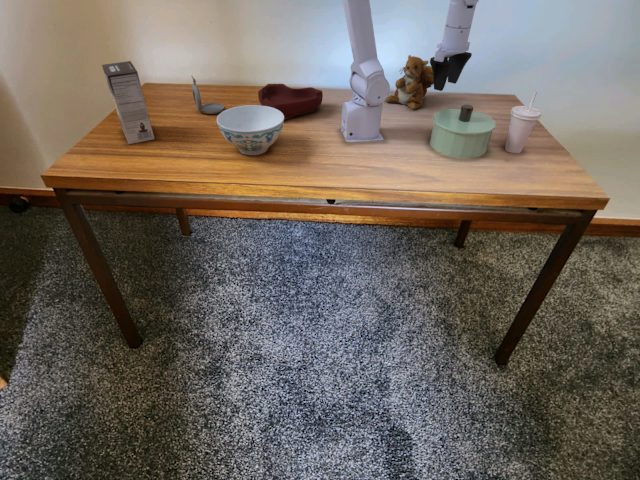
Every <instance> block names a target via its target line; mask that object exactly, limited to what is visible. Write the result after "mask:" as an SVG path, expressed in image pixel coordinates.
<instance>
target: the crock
mask: <svg viewBox="0 0 640 480" xmlns="http://www.w3.org/2000/svg"><path fill="white" fill-rule="evenodd" d="M492 133H493V131H491V132H489V133H485V134H478V135H469V134H460V133H455V132H452V131H448V130H446V129H443V128H441V127H439V126H438V125H437V124H436V123H435V122H434V121H433V124H432V129H431V134H430V138H429V145H430V146H431V147H432V149H434V150H435V151H436V152H438V153H440V154H443V155H447V156H448V157H453V158H454V157H455V158H458V159H459V158H460V159H472V158H479V157H481V156H484V155H485V153H486V152H487V150H488V147H489V144H490V140H491V137H492Z"/></svg>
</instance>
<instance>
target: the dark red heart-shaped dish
mask: <svg viewBox="0 0 640 480" xmlns="http://www.w3.org/2000/svg"><path fill="white" fill-rule="evenodd" d="M257 97H258V102H259V103H260V105H261V106H268V107H272V108H275V109H277V110H279V111H281V112H282V113H283V115H284V121H286V120H288V119H292V118H294V117H297V116H300V115H304V114H308V113H312V112H315V111H317V110H318V109H319V108H320V106H321V105H322V103H323V91H322V90H321V89H318V88H315V87H311V86H310V87H301V88H292V87H289V86H287V85H286V84H284V83H267V84H266V85H265V86H263V87H262V88H261V89H258V92H257Z"/></svg>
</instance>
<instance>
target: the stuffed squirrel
mask: <svg viewBox="0 0 640 480" xmlns="http://www.w3.org/2000/svg"><path fill="white" fill-rule="evenodd" d="M428 64H429V60H423V59H422V58H420V57H418V56H412V55H411V54H409V55H407V60H406V63H405V65H404V67H403V66H402V68H401V69H399V72H400V75H402V74H403V73H404V75H403V76H402V77H400V78H399V79H397V80H396V81H395V88H396V89H395V91H394V94H393V95H388V97H387V99H386V100H385V101H386V102H387V103H390V104H391V103H392V104H393V103H399V104H400V105H401V104H402V105H404V106H407V107H408V108H409V109H410V110H413V111H414V110H417V109H419V108H421V106H422V104H423V100H424V98H426V95H427V93H428V89H430V88H432V86H434V80H433V71H432V67H431V65H428Z"/></svg>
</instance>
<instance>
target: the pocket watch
mask: <svg viewBox="0 0 640 480" xmlns="http://www.w3.org/2000/svg"><path fill="white" fill-rule="evenodd" d="M191 78H192V83H193V84H192V85H191V91H192V96H193V101H194V106H195V107H196V109H197V111H200V112H201V113H202V114H206V115H215V114H220V113H221V112H223V111H225V110H224V109H225V106H224V105H223V104H221V103H217V102H211V103H210V102H209V103H205V104H202V98H201V94H200V89H199V87H198V85H197V81H196V79H195V77H194V76H193V75H191Z"/></svg>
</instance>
